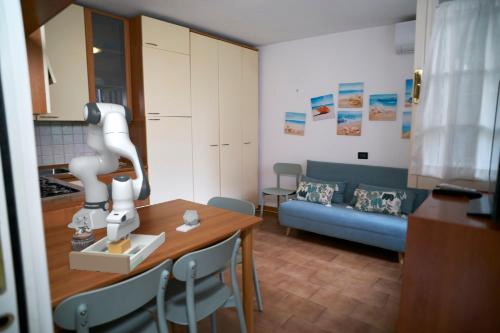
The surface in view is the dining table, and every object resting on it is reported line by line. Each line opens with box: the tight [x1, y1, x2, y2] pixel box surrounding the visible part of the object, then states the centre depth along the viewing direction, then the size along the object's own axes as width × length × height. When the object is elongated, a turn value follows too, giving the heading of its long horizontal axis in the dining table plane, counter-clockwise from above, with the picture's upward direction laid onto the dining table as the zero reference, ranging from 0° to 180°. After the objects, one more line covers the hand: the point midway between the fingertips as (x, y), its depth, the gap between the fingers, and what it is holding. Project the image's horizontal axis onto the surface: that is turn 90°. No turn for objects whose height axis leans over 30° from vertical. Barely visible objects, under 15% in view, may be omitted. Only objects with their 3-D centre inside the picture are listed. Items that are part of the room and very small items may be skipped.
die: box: [182, 209, 200, 226], centre depth 177 cm, size 8×9×10 cm
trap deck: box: [68, 231, 166, 275], centre depth 137 cm, size 24×34×6 cm
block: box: [108, 238, 131, 254], centre depth 135 cm, size 6×8×4 cm
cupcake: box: [70, 226, 96, 252], centre depth 142 cm, size 10×10×10 cm
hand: (125, 243), depth 139 cm, fingers closed
